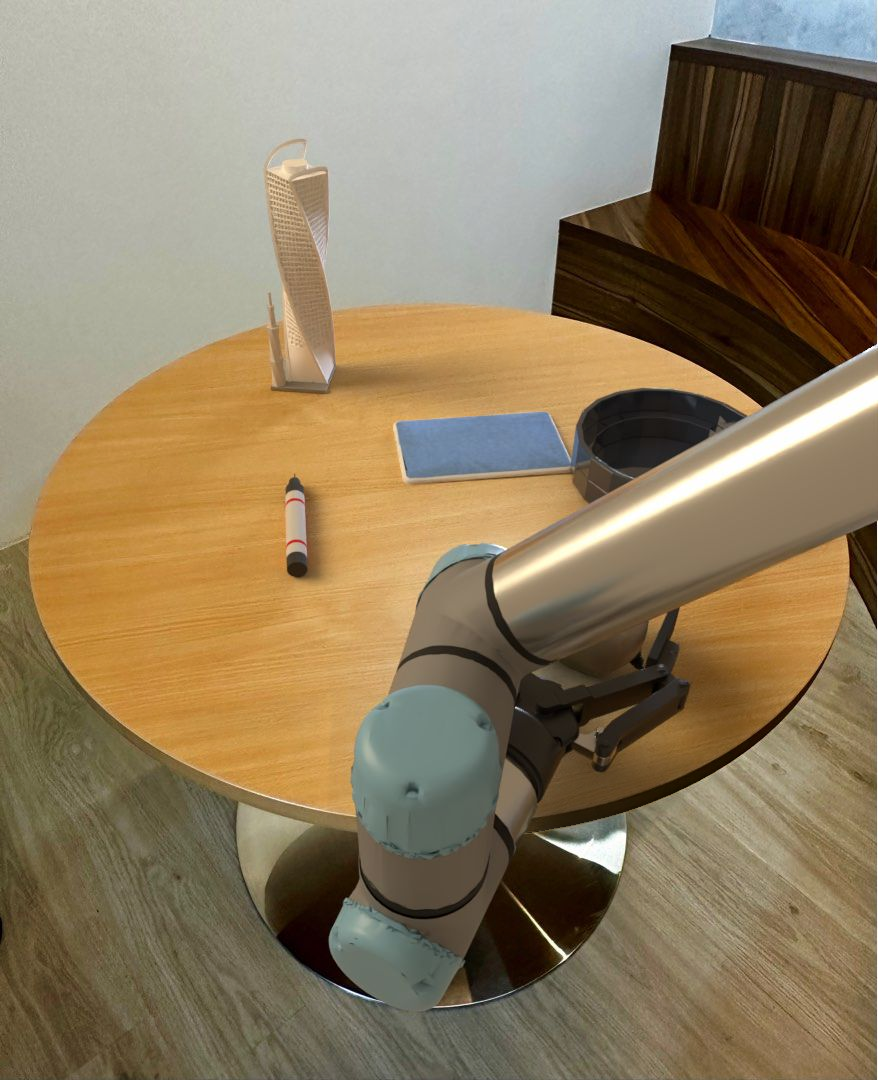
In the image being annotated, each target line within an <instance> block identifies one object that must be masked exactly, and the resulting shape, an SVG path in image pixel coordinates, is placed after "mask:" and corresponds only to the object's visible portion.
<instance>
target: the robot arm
mask: <svg viewBox="0 0 878 1080" xmlns="http://www.w3.org/2000/svg"><path fill="white" fill-rule="evenodd" d="M875 522H878V344H876V345H874V346H872V347H871V348H868V349H867V350H865V351H863V352H862V353H859V354H857V355H856V356H854V357H853V358H851V359H848V360H847V361H845V362H843V363H842V364H840V365H838V366H836V367H834V368H832V369H830V370H829V371H827V372H825V373H823V374H821V375H820V376H818V377H816V378H814V379H812V380H811V381H809V382H807V383H805V384H803V385H801V386H799V387H798V388H796V389H794V390H792V391H791V392H789V393H787V394H785V395H784V396H782V397H780V398H779V399H776V400H774V401H773V402H771V403H769V404H767V405H765V406H764V407H762V408H760V409H758V410H756V411H755V412H753V413H751V414H749V415H747V417H746V418H744V419H742V420H740V421H738V422H737V423H735V424H733V425H731V426H729V427H728V428H726V429H724V430H722V431H720V432H718V433H717V434H715V435H713V436H711V437H709V438H708V439H706V440H704V441H702V442H700V443H699V444H697V445H695V446H693V447H691V448H690V449H688V450H686V451H684V452H682V453H680V454H679V455H677V456H675V457H673V458H671V459H670V460H668V461H666V462H664V463H662V464H661V465H659V466H657V467H655V468H653V469H652V470H650V471H648V472H646V473H644V474H642V475H641V476H639V477H637V478H635V479H633V480H632V481H630V482H628V483H626V484H624V485H623V486H621V487H619V488H617V489H615V490H614V491H612V492H610V493H608V494H606V495H605V496H603V497H601V498H599V499H597V500H595V501H594V502H592V503H590V504H589V503H588V504H586V505H584V506H583V507H581V508H579V509H577V510H576V511H573V512H572V513H570V514H569V515H567V516H565V517H562V518H561V519H559V520H557V521H556V522H554V523H552V524H550V525H548V526H547V527H544V528H543V529H541V530H539V531H538V532H536V533H534V534H532V535H530V536H528V537H527V538H525V539H523V540H520V542H518V543H516V544H514V545H512V546H510V547H508V548H507V547H504V546H502V545H497V544H496V543H491V542H490V543H489V542H480V543H479V544H467V543H463V544H460V545H457V546H455V547H453V548H451V549H449V550H448V551H446V552H445V553H444V554H443V555H442V556H440V557H439V558H438V560H436V562H435V564H434V566H433V567H432V570H431V572H430V574H429V577H428V579H427V581H426V582H425V584H424V586H423V588H422V590H421V591H420V592H419V594H418V596H417V601H416V605H415V610H414V611H415V612H414V615H413V617H412V618H413V619H412V622H411V625H410V627H409V630H408V634H407V636H406V639H405V640H406V641H405V643H404V647H403V650H402V652H401V656H400V658H399V661H398V665H397V669H396V672H395V674H394V676H393V678H392V682H391V685H390V687H389V690H388V693H387V695H386V696H385V697H384V699H383V700H381V702H379V703H378V704H377V705H375V706H374V707H373V708H372V709H370V711H368V712H367V713H366V715H365V716H364V717H363V719H362V721H361V723H360V725H359V727H358V729H357V732H356V735H355V740H354V747H353V763H352V766H351V767H350V785H351V788H352V792H351V799H352V801H353V803H354V807H355V818H356V819H355V820H356V830H357V841H358V850H359V851H358V857H357V859H358V860H357V861H358V875H359V879H358V882H357V884H356V886H355V888H354V889H353V890H352V892H351V894H350V895H349V897H345V898H344V900H343V901H342V907H341V909H340V911H339V913H338V915H337V918H336V919H335V922H334V923H333V924H332V925H333V926H332V927H331V929H330V932H329V936H328V948H329V951H330V954H331V956H332V959H333V960H334V961H335V963H336V965H337V967H339V969H340V970H341V971H342V973H343V974H344V975H345V976H346V977H347V978H348V979H349V980H350V981H351V982H353V984H355V985H356V986H357V987H358V988H359V989H361V990H363V991H364V992H365V993H366V994H368V995H369V996H371V997H373V998H375V999H377V1000H378V1001H380V1002H382V1003H384V1004H386V1005H388V1006H390V1007H392V1008H395V1009H398V1010H401V1011H405V1012H411V1013H421V1012H426V1011H429V1010H432V1009H433V1008H434V1007H435V1006H437V1005H438V1004H439V1003H440V1002H441V1000H442V999H443V998H444V995H445V993H446V991H447V990H448V988H449V986H450V984H451V983H452V981H453V979H454V977H455V975H456V974H457V972H458V970H459V969H461V968H463V966H464V964H465V963H466V960H465V959H464V958H465V957H466V954H467V953H468V950H469V948H470V946H471V945H472V942H473V940H474V938H475V935H476V933H477V931H478V930H479V927H480V925H481V923H482V921H483V919H484V916H485V914H486V913H487V911H488V908H489V906H490V903H491V902H492V900H493V897H494V895H495V893H496V891H497V889H498V887H499V885H500V883H501V881H502V879H503V876H504V875H505V873H506V871H507V868H508V867H509V865H510V862H512V860H513V857H514V855H515V853H516V851H517V849H518V847H519V845H520V843H521V841H522V839H523V837H524V835H525V834H526V831H527V830H528V827H529V825H530V824H531V822H532V819H533V817H534V816H535V814H536V811H537V808H538V804H539V803H541V802H542V800H543V797H545V793H546V792H547V790H548V787H549V786H550V783H551V781H552V780H553V778H554V776H555V774H556V771H557V769H558V767H559V765H560V763H561V762H562V759H563V758H564V757H565V756H566V755H567V754H569V753H571V752H572V751H574V752H576V753H578V754H580V755H582V756H584V757H586V758H587V759H589V760H591V767H592V769H593V770H594V771H595V772H597V773H604V772H607V771H608V770H609V768H610V766H611V764H612V763H613V762H614V760H615V758H616V757H617V755H618V754H619V753H620V752H622V751H624V750H625V749H627V748H628V747H629V746H631V745H633V744H634V743H636V742H637V741H638V740H640V739H641V738H643V737H644V736H646V735H647V734H649V733H651V732H652V731H653V730H655V729H656V728H658V727H659V726H661V725H662V724H664V723H665V722H667V721H668V720H670V719H672V718H673V717H674V716H675V715H678V714H679V713H680V712H682V711H683V710H684V709H685V706H686V702H687V699H688V696H689V692H690V689H691V686H692V685H691V683H690V681H689V680H687V678H684V677H678V678H677V677H675V676H674V674H673V673H672V672H673V670H674V668H675V665H676V663H677V660H678V656H679V653H680V649H681V648H680V643H678V642H675V641H672V640H671V639H672V636H673V633H674V631H675V629H676V628H675V627H676V624H677V620H678V617H679V612H680V610H681V608H682V607H684V606H686V605H688V604H690V603H693V602H695V601H697V600H699V599H701V598H705V597H707V596H708V595H710V594H712V593H716V592H717V591H720V590H722V589H725V588H727V587H729V586H731V585H734V584H736V583H738V582H741V581H743V580H746V579H747V578H750V577H752V576H755V575H757V574H759V573H761V572H764V571H765V570H766V571H767V570H768V569H770V568H773V567H775V566H777V565H780V564H783V563H784V562H786V561H788V560H791V559H793V558H795V557H797V556H800V555H803V554H805V553H807V552H809V551H811V550H814V549H816V548H818V547H821V546H823V545H825V544H827V543H830V542H832V541H834V540H836V539H839V538H841V537H844V536H846V535H848V534H851V533H854V532H855V531H857V530H859V529H862V528H864V527H866V526H868V525H871V524H874V523H875ZM663 615H665V617H664V619H663V621H662V624H661V626H660V628H659V630H658V633H657V635H656V637H655V639H654V641H653V644H652V646H651V648H650V651H649V653H648V655H647V657H646V660H645V666H644V669H641V670H635V671H632V672H628V673H625V674H623V675H620V676H616V677H613V678H610V679H607V680H604V681H601V682H597V683H594V684H591V685H588V686H586V685H585V684H578V685H575V686H573V687H569V688H566V689H563V688H562V686H563V685H562V684H561V683H559V682H556V681H553V680H549V679H544V678H541V677H539V676H538V675H536V674H534V672H537V671H539V670H541V669H543V668H546V667H548V666H550V665H552V664H554V663H555V662H558V661H559V660H560V659H562V658H565V657H567V656H569V655H571V654H574V653H576V652H578V651H581V650H583V649H585V648H587V647H590V646H592V645H594V644H597V643H599V642H601V641H603V640H606V639H608V638H610V637H613V636H615V635H617V634H620V633H622V632H624V631H626V630H629V629H631V628H633V627H636V626H638V625H640V624H642V623H645V622H647V621H649V622H650V621H652V620H653V619H656V618H658V617H661V616H663ZM627 708H629V709H628V710H626V711H624V712H623V713H621V714H620V715H618V716H616V717H615V718H614V719H612V720H611V721H610V722H609V723H608V724H607V725H606V726H605V727H602V726H597V727H596V729H594V730H592V731H591V732H589V733H582V732H580V731H581V730H580V728H581V727H585V726H586V725H588V723H589V722H590V721H592V720H594V719H597V718H599V717H603V716H606V715H608V714H611V713H614V712H617V711H620V710H624V709H627Z"/></svg>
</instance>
